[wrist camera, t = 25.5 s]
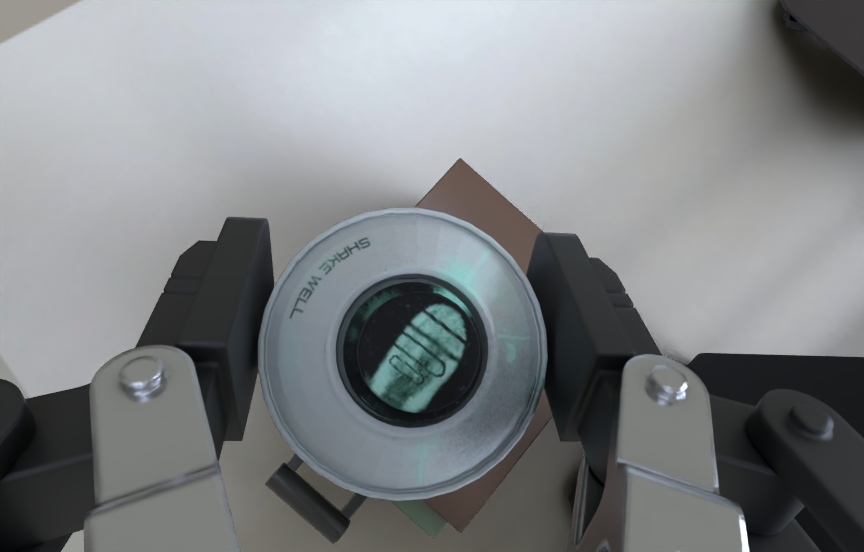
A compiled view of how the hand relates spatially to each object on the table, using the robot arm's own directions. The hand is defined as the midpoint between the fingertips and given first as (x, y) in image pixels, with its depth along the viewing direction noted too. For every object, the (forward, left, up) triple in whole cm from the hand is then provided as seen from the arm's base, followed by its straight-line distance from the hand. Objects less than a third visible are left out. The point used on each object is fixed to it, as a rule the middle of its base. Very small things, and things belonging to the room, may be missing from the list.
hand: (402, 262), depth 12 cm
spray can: (-1, -2, -16) cm, 16 cm away
